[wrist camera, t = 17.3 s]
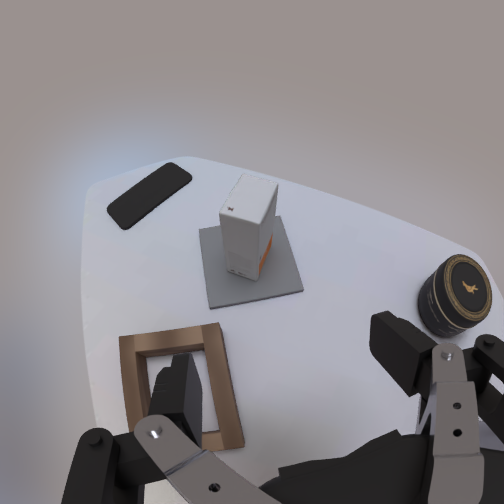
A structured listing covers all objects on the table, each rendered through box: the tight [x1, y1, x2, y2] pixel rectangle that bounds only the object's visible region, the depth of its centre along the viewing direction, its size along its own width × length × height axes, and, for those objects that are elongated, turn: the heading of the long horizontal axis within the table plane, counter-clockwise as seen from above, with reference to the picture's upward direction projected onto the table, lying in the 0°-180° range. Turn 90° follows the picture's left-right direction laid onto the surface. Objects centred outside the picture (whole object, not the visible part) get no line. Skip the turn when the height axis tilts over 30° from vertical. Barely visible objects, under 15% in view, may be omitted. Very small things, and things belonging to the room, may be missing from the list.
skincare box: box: [219, 174, 278, 281], centre depth 32 cm, size 6×4×12 cm
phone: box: [107, 162, 192, 230], centre depth 44 cm, size 7×1×15 cm
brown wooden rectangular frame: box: [119, 322, 245, 452], centre depth 27 cm, size 12×14×4 cm
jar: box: [419, 254, 492, 336], centre depth 30 cm, size 10×10×8 cm
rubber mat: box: [199, 216, 304, 309], centre depth 37 cm, size 12×12×1 cm
